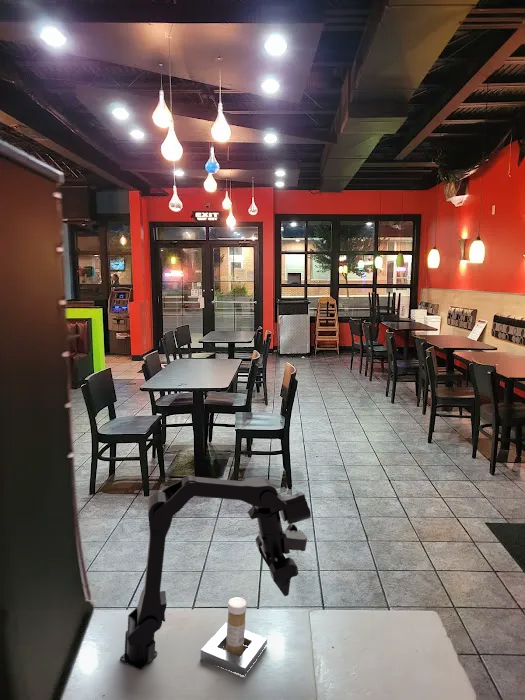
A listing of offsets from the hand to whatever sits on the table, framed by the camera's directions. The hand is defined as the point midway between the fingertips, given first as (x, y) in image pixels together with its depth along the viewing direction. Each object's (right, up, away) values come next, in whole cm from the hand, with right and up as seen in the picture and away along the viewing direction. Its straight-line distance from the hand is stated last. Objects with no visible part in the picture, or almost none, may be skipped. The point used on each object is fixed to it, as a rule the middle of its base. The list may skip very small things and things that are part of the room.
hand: (281, 585), depth 125 cm
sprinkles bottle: (-12, -15, -4) cm, 20 cm away
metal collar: (-12, -15, -4) cm, 19 cm away
